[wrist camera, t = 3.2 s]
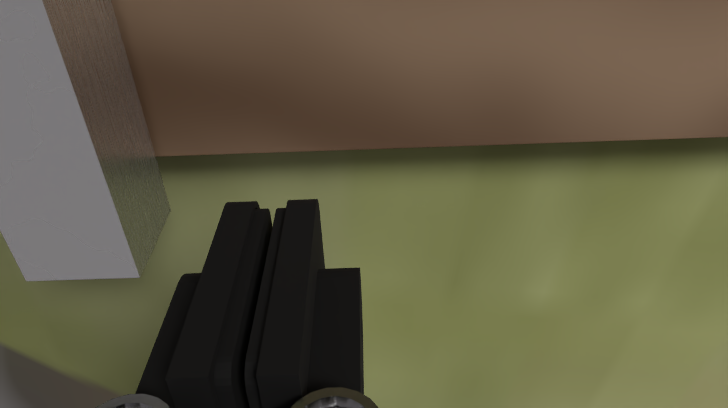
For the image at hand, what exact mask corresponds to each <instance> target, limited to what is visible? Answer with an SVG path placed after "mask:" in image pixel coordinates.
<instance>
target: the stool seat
mask: <svg viewBox="0 0 728 408" xmlns="http://www.w3.org/2000/svg"><path fill="white" fill-rule="evenodd" d="M111 2H112V5H113V9H114V12H115V16H116V19H117V23H118V26H119V30H120V33H121V37H122V40H123V44H124V47H125V51H126V54H127V58H128V62H129V65H130V69H131V72H132V76H133V79H134V83H135V86H136V90H137V93H138V97H139V100H140V104H141V107H142V111H143V114H144V118H145V121H146V125H147V128H148V132H149V135H150V139H151V143H152V146H153V150H154V153H155V156H184V155H213V154H242V153H272V152H301V151H330V150H359V149H388V148H417V147H447V146H476V145H505V144H534V143H563V142H593V141H622V140H651V139H680V138H709V137H728V0H111Z"/></svg>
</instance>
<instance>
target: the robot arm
mask: <svg viewBox="0 0 728 408" xmlns="http://www.w3.org/2000/svg"><path fill="white" fill-rule="evenodd" d="M96 408H378V407H377V405H376V404H375V403H374V402H373V401H372V400H371V399H370V398H368V397H367V396H365V395H364V377H363V323H362V297H361V277H360V268H336V269H325V264H324V253H323V243H322V232H321V222H320V211H319V203H318V199H308V200H288V202H287V206H286V208H277V209H276V213H275V218H274V223H273V228H272V221H271V215H270V211H269V209H260V208H259V204H258V202H257V201H252V202H228V203H226V204H225V206H224V209H223V212H222V215H221V218H220V221H219V224H218V227H217V229H216V232H215V235H214V238H213V241H212V244H211V247H210V250H209V253H208V256H207V259H206V261H205V264H204V267H203V270H202V273H191V274H184V275H183V276H182V277H181V279H180V280H179V282H178V285H177V287H176V290H175V293H174V295H173V298H172V300H171V303H170V306H169V308H168V311H167V313H166V316H165V318H164V321H163V324H162V326H161V329H160V331H159V334H158V337H157V339H156V342H155V344H154V347H153V350H152V352H151V355H150V357H149V360H148V362H147V365H146V368H145V370H144V373H143V375H142V378H141V381H140V383H139V386H138V388H137V391H136V393H135V394H128V395H124V396H121V397H117V398H114V399H111V400H109V401H107V402H105V403H103V404H101V405H99V406H97V407H96Z"/></svg>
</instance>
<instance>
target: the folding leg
mask: <svg viewBox="0 0 728 408" xmlns="http://www.w3.org/2000/svg"><path fill="white" fill-rule="evenodd" d="M170 212H171V209H170V206H169V202H168V199H167V195H166V192H165V188H164V185H163V181H162V178H161V174H160V171H159V167H158V164H157V160H156V157H155V153H154V150H153V146H152V143H151V139H150V135H149V132H148V128H147V125H146V121H145V118H144V114H143V111H142V107H141V104H140V100H139V97H138V93H137V90H136V86H135V83H134V79H133V76H132V72H131V69H130V65H129V62H128V58H127V54H126V51H125V47H124V44H123V40H122V37H121V33H120V30H119V26H118V23H117V19H116V16H115V12H114V9H113V5H112V2H111V0H0V231H1V233H2V235H3V237H4V239H5V241H6V243H7V244H8V246H9V248H10V250H11V252H12V254H13V256H14V258H15V260H16V262H17V264H18V266H19V268H20V270H21V272H22V274H23V276H24V278H25V280H26V281H48V280H79V279H110V278H140V276H141V274H142V272H143V270H144V268H145V265H146V263H147V261H148V259H149V257H150V255H151V252H152V250H153V248H154V246H155V244H156V242H157V240H158V237H159V235H160V233H161V231H162V229H163V227H164V224H165V222H166V220H167V218H168V216H169V214H170Z"/></svg>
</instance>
